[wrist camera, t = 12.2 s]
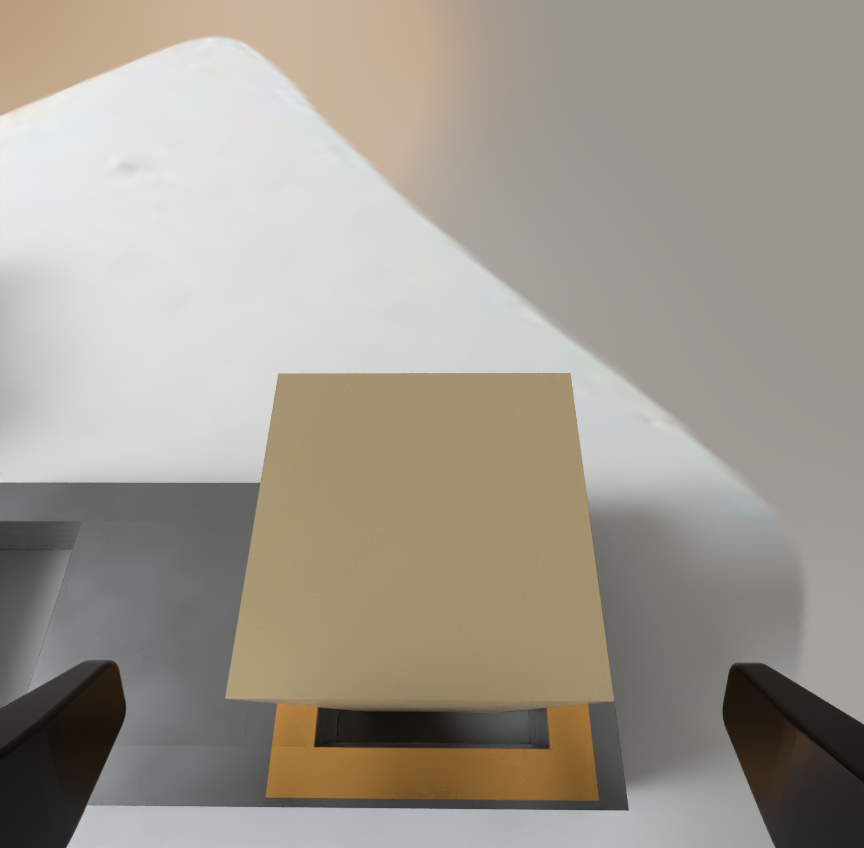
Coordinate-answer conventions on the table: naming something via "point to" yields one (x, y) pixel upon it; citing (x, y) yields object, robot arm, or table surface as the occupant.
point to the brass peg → (422, 548)
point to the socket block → (210, 665)
